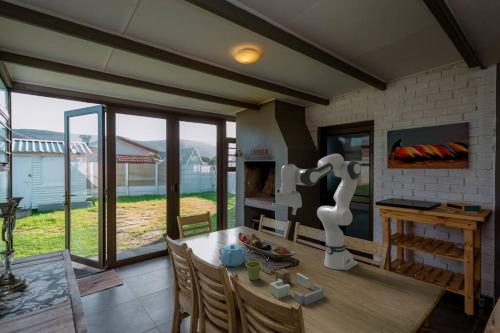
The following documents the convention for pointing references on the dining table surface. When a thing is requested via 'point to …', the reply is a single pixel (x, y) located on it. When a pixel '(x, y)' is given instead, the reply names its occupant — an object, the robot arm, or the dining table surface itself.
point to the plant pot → (253, 270)
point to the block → (283, 276)
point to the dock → (309, 296)
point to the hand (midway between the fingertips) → (288, 213)
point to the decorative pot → (232, 255)
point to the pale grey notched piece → (287, 286)
